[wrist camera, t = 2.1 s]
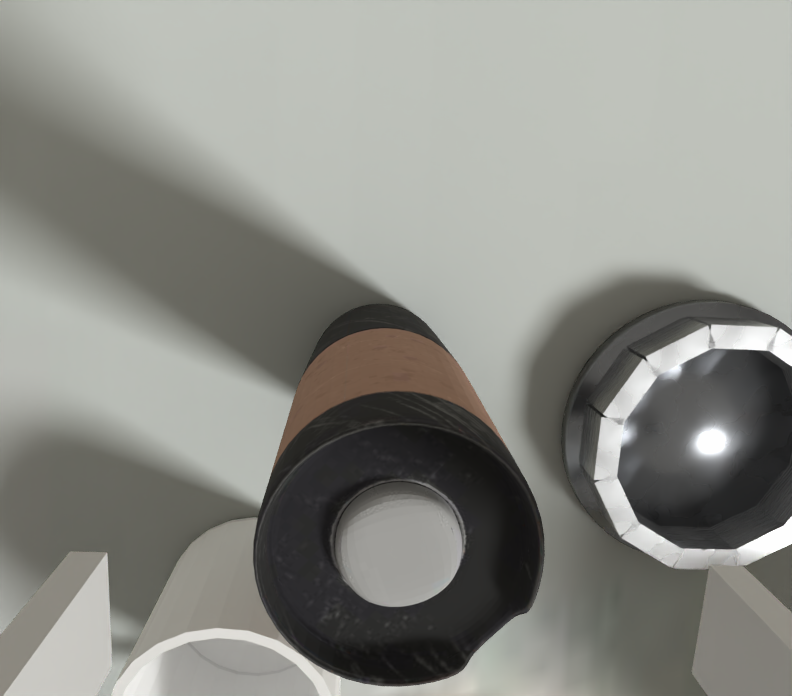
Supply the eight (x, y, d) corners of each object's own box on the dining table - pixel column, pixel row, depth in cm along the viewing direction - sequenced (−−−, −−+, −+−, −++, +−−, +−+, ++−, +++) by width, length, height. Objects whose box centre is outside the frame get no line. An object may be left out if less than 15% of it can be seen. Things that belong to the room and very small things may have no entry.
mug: (220, 485, 37) (169, 589, 27) (375, 562, 39) (380, 688, 29) (122, 659, 39) (40, 816, 29) (273, 726, 41) (244, 897, 31)
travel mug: (306, 298, 35) (239, 417, 16) (449, 297, 36) (559, 412, 16) (309, 435, 37) (253, 698, 17) (447, 433, 37) (543, 687, 18)
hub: (548, 547, 39) (567, 580, 36) (576, 294, 36) (599, 303, 32) (793, 552, 40) (834, 584, 36) (841, 305, 37) (890, 316, 33)
